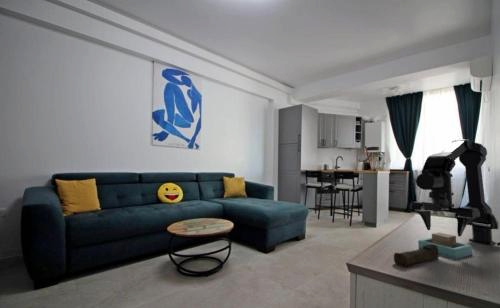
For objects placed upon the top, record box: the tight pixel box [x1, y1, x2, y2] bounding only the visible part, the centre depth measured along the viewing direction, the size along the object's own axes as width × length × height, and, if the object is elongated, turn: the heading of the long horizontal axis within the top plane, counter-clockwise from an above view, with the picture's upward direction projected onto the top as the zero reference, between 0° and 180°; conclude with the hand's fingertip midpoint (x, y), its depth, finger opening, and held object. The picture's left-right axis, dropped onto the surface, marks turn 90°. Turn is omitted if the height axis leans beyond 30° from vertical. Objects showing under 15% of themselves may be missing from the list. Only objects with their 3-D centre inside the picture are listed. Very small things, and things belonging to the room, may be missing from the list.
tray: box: [417, 237, 473, 260], centre depth 81 cm, size 11×11×3 cm
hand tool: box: [393, 245, 440, 268], centre depth 71 cm, size 19×4×5 cm, turn 110°
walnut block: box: [431, 232, 457, 248], centre depth 81 cm, size 5×5×5 cm
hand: (443, 233), depth 81 cm, fingers open, 9 cm apart
